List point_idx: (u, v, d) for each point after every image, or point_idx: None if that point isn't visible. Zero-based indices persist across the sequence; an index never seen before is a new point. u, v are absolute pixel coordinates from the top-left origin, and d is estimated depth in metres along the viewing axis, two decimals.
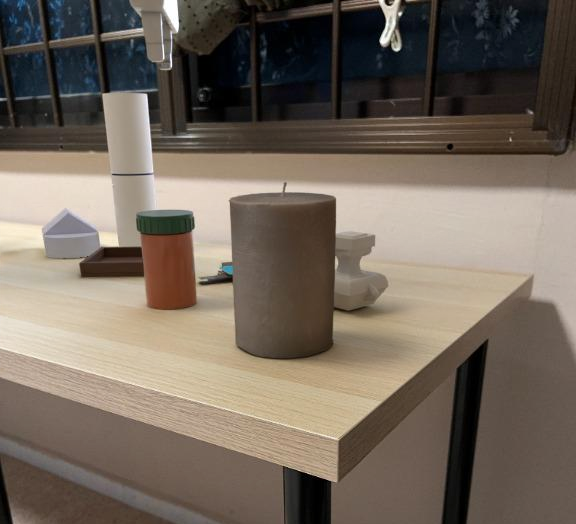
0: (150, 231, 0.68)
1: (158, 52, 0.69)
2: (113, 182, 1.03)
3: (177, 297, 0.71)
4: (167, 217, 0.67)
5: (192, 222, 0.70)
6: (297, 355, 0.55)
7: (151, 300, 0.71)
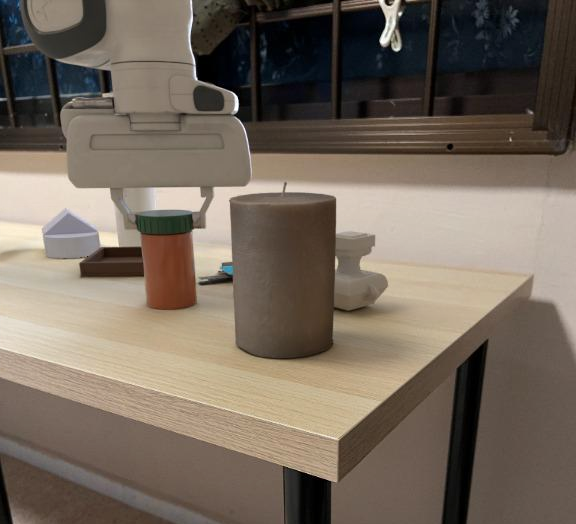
0: (150, 231, 0.68)
1: (205, 220, 0.71)
2: None
3: (177, 297, 0.71)
4: (167, 217, 0.67)
5: (192, 222, 0.70)
6: (297, 355, 0.55)
7: (151, 300, 0.71)
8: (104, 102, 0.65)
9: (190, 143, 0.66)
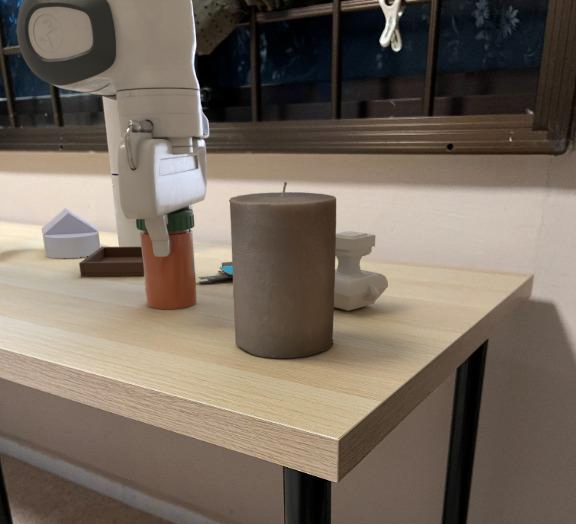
0: (187, 227, 0.69)
1: None
2: (113, 182, 1.03)
3: (177, 297, 0.71)
4: (192, 211, 0.70)
5: None
6: (297, 355, 0.55)
7: (151, 300, 0.71)
8: (149, 126, 0.61)
9: (187, 164, 0.71)
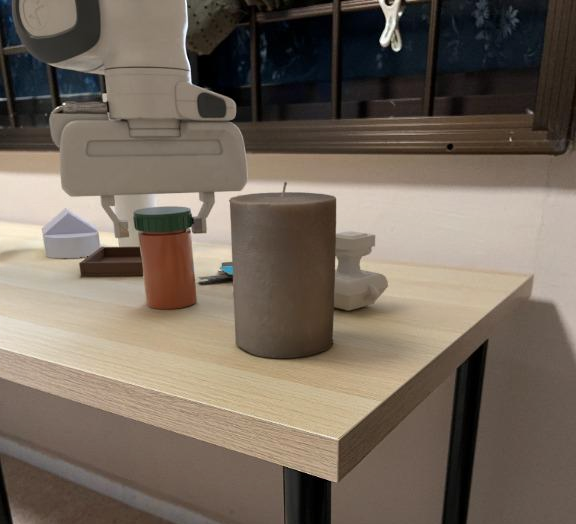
0: (184, 227, 0.68)
1: None
2: None
3: (177, 296, 0.71)
4: (190, 210, 0.69)
5: None
6: (297, 355, 0.55)
7: (151, 300, 0.71)
8: (98, 107, 0.63)
9: (189, 149, 0.66)
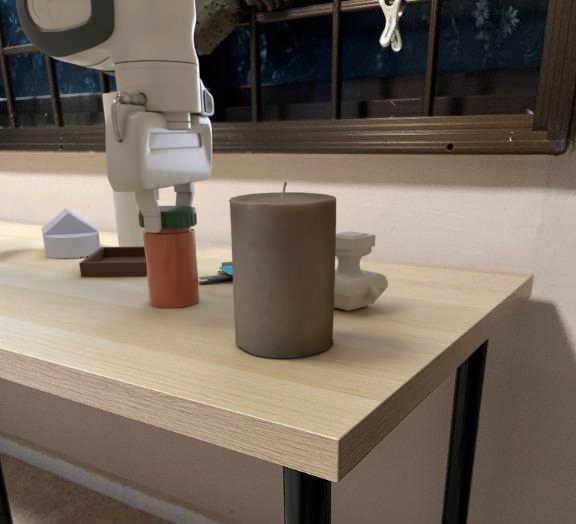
0: None
1: None
2: None
3: (183, 295, 0.71)
4: None
5: None
6: (297, 355, 0.55)
7: (155, 299, 0.72)
8: (141, 98, 0.61)
9: (188, 141, 0.70)
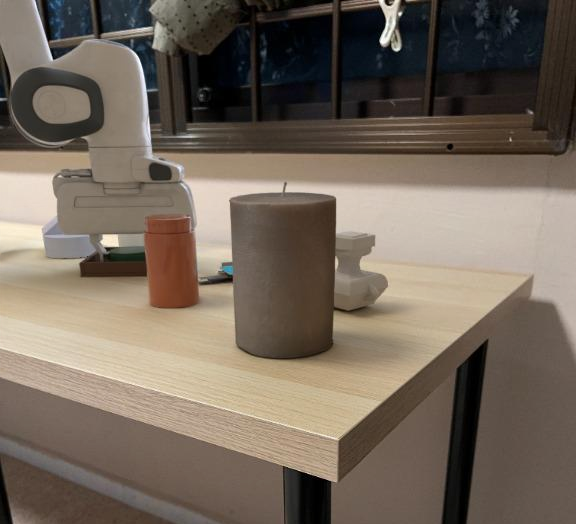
0: None
1: None
2: None
3: (183, 295, 0.71)
4: None
5: None
6: (297, 355, 0.55)
7: (155, 299, 0.72)
8: (84, 172, 0.88)
9: (148, 202, 0.89)
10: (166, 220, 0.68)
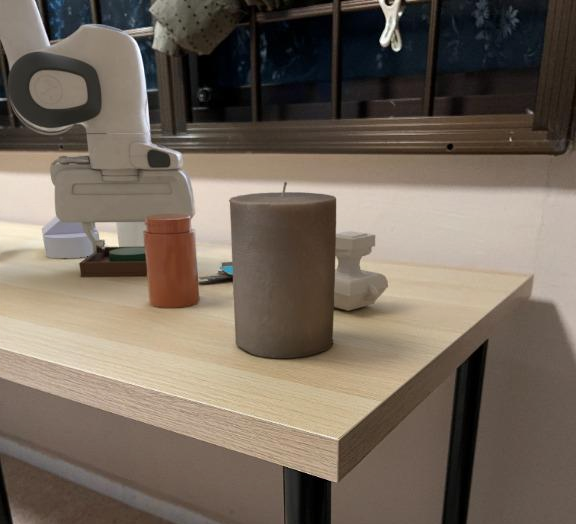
0: None
1: None
2: None
3: (183, 295, 0.71)
4: None
5: None
6: (297, 355, 0.55)
7: (155, 299, 0.72)
8: (82, 159, 0.87)
9: (146, 189, 0.88)
10: (166, 220, 0.68)
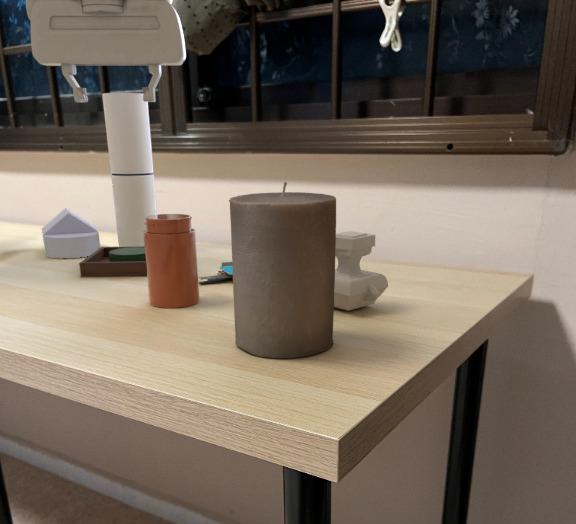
0: None
1: (154, 95, 0.85)
2: (113, 182, 1.03)
3: (183, 295, 0.71)
4: None
5: None
6: (297, 355, 0.55)
7: (155, 299, 0.72)
8: None
9: (132, 24, 0.80)
10: (166, 220, 0.68)
